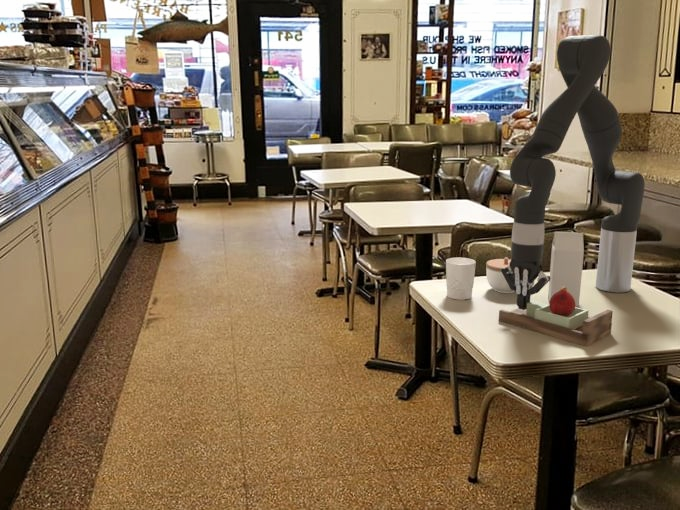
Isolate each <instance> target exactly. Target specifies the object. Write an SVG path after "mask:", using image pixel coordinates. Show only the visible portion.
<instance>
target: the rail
mask: <svg viewBox="0 0 680 510" xmlns="http://www.w3.org/2000/svg"><path fill="white" fill-rule="evenodd" d="M498 311H499V312H498V321H499V322H501V323H507V324H509V323H510V324H509V325H512V324H513V326H516V327H520V328H523V329H526V330H530V331H534V332H537V333H541V334H544V335H547V336H551V337H554V338H557V339H561V340H564V341H567V342H571V343H574V344H578V345H582V346H584V347H588V346H590V345H592V344H594V343H595V342H598V341H599V340H600V341H601V340H602V339H603V338H605V337H608V336H609V335H611V334H612V325H613V313H614V311H613V310H611V309H606V310H603V311H602V312H599V313H598V314H597V313H596V314H595V315H593V316H591V317H589V316H588V319H586V320H584V321H583V326H581V327H578V328H576V329H574V330H573V329H570V328H566V327H563V326H559V325H556V324H552V323H548V322H545V321H541V320H538V319H534V318H533V317H529V316H526V311H527V309H525V310H522V309H519V308H518V307H517V308H515V309H513V310H511V311H508V310H505V309H499V310H498Z"/></svg>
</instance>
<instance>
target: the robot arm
mask: <svg viewBox="0 0 680 510" xmlns="http://www.w3.org/2000/svg"><path fill="white" fill-rule="evenodd" d="M610 58H611V43H610V41H609V39H608V38H607V37H606V36H604V35H599V34H590V35H589V34H586V35H570V36H566V37H564V38H562V39H561V40H560V41H559V43H558V46H557V49H556V61H557V66H558V69H559V71H560V74H561V77H562V79H563V81H564V83H565V86H566V87H567V88H566V89H565V90H564V91H563V92H562V93H561V94H560V95H559V96H557V97H556V98H555V99H554V100H553V101H552V102H551V103H550V104H549V105H547V108H546V109H544V111H543V112H542V115H541V116H540V118H539V120H538V122H537V125H536V127H535V129H534V131H533V133H532V136H531V137H530V138H529V139H528V141H527V142H526V143H525V144H524V146H523V147H521V149H520V150H519V152H518V153H517V154H516V155H515V157H514V158H513V160H512V161H511V164H510V169H509V175H510V179H511V182H512V183H514V184H515V185H518V186H523V187H530V188H531V189H530V193H529V194H528V195H524V196H519V197H517V198H516V200H515V203H514V211H513V213H514V214H513V225H512V229H511V230H512V231H511V243H510V244H511V247H510V259H511V261H510V263H509V266H507V267H506V268H503V269H501V272H502V274H503V276H504V277H505V279H506V281H507V283H508V285H509V287H510V289H511V290H514V291H515V293H516V294H517V295H516V306H517V309H518V308H519V309H522V310H525V309H527V303H529V302H531V297H532V296H533V295H534V294H538V293H539V292H540V291H541V290H542V289H543V288H544V287H545V286H546V285H547V284H549V281H550V279H551V278H550V275H546V274H545V272H544V271H543V266H542V265H543V264H542V263H543V257H544V243H545V234H546V233H545V219H546V218H545V217H546V215H545V214H546V206H547V203H548V201H549V196H550V194H551V191H552V188H553V186H554V183H555V181H556V175H557V173H556V172H557V170H556V167H555V165H554V162H553V161H552V160H551V159H549V158H546V157H545V156H547V155H548V156H549V155H551V154H555V153H557V152H558V151H559V150H560V148H561V147H562V144H563V142H564V139H565V138H566V135H567V133H568V131H569V128H570V126H571V125H572V122H573V120H574V118H575V117H576V115H577V117H578V119H579V124H580V127H581V131H582V133H583V137H584V140H585V142H586V145H587V147H588V153H589V156H590V159H591V162H592V167H593V172H594V176H595V183H596V187H597V188H596V189H597V192H598V195H599V197H600V199H601V200H602V201H603V202H605V203H608V204H612V205H619V206H621V208H620V211H619V213H616V214H613V215H608V216H604V217H603V218H602V219H601V225H600V227H601V228H600V237H599V238H600V239H599V247H598V255H597V256H598V257H597V259H598V260H597V268H596V276H595V277H596V279H595V288H596V289H598V290H601V291H604V292H608V293H619V294H621V293H627V292H630V291H631V285H632V277H633V269H634V261H635V249H636V241H637V231H638V225H639V222H640V219H641V212H642V206H643V199H644V196H645V194H644V193H645V185H646V184H645V179H644V176H643V174H641V173H640V172H635V171H627V170H617V168H616V167H615V166H614V163H613V161H614V160H613V156H614V153H615V151H617V150H616V149H617V148H618V146H619V144H620V142H621V140H622V136H623V128H622V125H621V124H622V123H621V120H620V115H619V112H618V110H617V108H616V106H615V105H614V103H612V102H611V100H610V99H609V98H608V97H607V96H606V95H605V94H604V93H602V91H601V90H599V88H597V87H598V86H596V84H597V83H598V81H599V80H600V78H601V77H602V75H603V74H604V72H605V71H606V68H607V66H608V64H609V61H610ZM536 280H537V282H536V283H535V281H536Z"/></svg>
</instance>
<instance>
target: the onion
mask: <svg viewBox="0 0 680 510" xmlns="http://www.w3.org/2000/svg"><path fill="white" fill-rule="evenodd" d="M566 289H567V288H566V287H562V288H561V290H560V291H558V292H556V293H555V294H554V295H553V296H552V297H551V299H550V301H549V303H548V304H549V307H550V310H551V312H552V313H553V314H557V315H560V316H564V317H568V316H569V315H571V314H572V312H573V311H574V309H575V300H574V298H573V296H572V295H571V294H570V293H569V292H567V290H566Z"/></svg>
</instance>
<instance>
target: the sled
mask: <svg viewBox="0 0 680 510" xmlns="http://www.w3.org/2000/svg"><path fill="white" fill-rule="evenodd" d="M526 316H529V317H533V318H534V319H538V320H541V321H545V322H548V323H552V324H556V325H559V326H563V327H566V328H570V329H573V330H574V329H576V328H578V327H581V326H583V321H584V320H586V319H588V317H589V310H588V309H585V308H580V307H575V309H574V311H573V312H572V314H571V315H569V316H568V317H564V316H560V315H557V314H553V313H552V312H551V310H550V307H549V303H545V302H540V301H537V300H532V301H531V300H530V302H529V303H527V311H526Z"/></svg>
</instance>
